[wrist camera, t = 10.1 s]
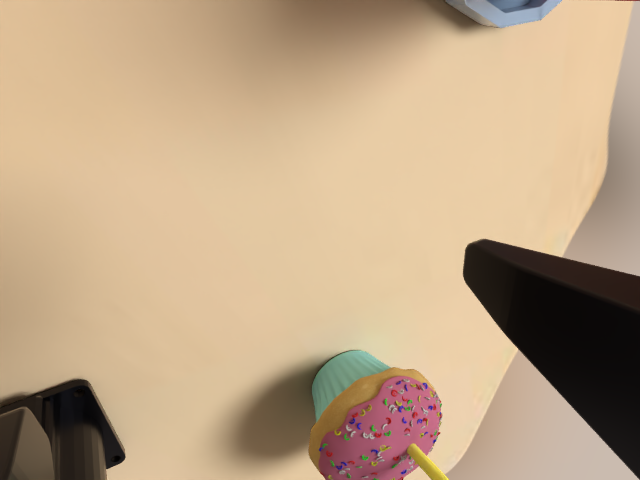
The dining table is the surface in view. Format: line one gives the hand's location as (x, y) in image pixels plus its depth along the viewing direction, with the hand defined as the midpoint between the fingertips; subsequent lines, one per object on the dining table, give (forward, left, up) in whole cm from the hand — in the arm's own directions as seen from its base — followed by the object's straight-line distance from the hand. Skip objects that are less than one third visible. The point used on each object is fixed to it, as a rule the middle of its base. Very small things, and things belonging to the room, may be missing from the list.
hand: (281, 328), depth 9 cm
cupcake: (-19, -7, -13) cm, 24 cm away
